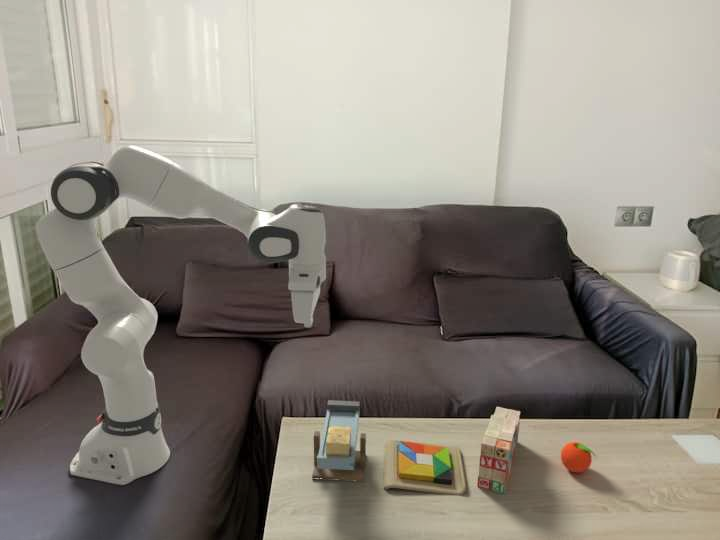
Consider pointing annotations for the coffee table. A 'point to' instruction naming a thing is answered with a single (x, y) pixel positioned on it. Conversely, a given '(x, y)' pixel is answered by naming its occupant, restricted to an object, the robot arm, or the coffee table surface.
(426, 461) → the wooden puzzle
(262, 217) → the robot arm
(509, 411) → the stack of blocks
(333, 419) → the beam
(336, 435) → the block
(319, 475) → the pivot stand
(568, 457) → the clementine
